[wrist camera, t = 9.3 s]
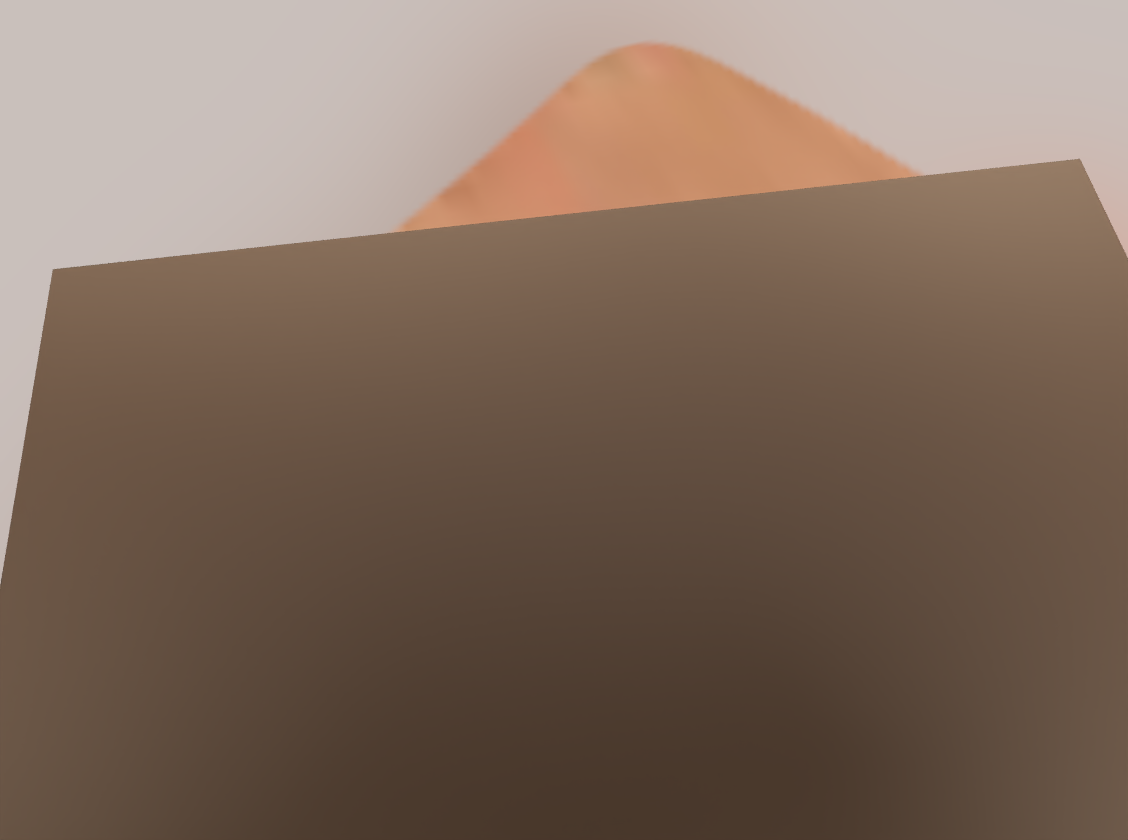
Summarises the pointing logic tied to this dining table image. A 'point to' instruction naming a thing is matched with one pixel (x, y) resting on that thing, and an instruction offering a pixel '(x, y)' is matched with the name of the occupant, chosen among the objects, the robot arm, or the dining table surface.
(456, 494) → the walnut slab
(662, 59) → the dining table surface
